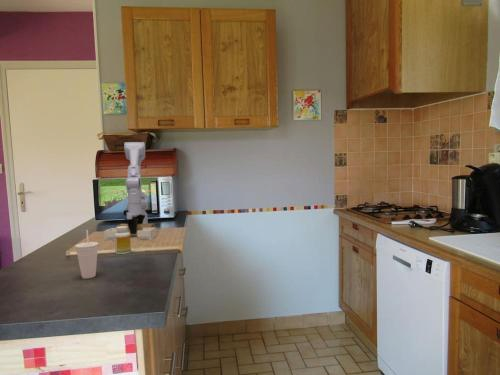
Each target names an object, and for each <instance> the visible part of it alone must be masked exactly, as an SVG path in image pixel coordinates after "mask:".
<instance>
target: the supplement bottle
mask: <svg viewBox="0 0 500 375" xmlns="http://www.w3.org/2000/svg"><path fill="white" fill-rule="evenodd" d="M115 228H116V231H117V233H116V234H115V240H114V249H115V254H116V255H126V254H129V253H131V252H132V250H131V245H132V244H131V236H130V233H129V232H127V230H128V227H127V226H119V227H117V226H116V227H115Z"/></svg>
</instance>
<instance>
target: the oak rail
mask: <svg viewBox="0 0 500 375" xmlns="http://www.w3.org/2000/svg"><path fill="white" fill-rule="evenodd" d="M119 226H127V227H128V230H127V232H129V233H130V229H129V226H128V224H127V223H119V224H117V225H116V227H119ZM143 228H155V223H148V224H137V228H136V234H131V233H130V237H138V236H137V231H138V230H143Z"/></svg>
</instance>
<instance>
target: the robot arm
mask: <svg viewBox="0 0 500 375" xmlns="http://www.w3.org/2000/svg"><path fill="white" fill-rule="evenodd" d="M123 145H124V146H123V148H124V154H125V157H126V160H129V165H128V166H127V174H126V175H127V178H126V179H125V187H126V194H127V196H126V210H127V211H128V212H127V211H126V212H125V214H126V218H125V219H124V220H125V223H126V224H128V226H129V229H130V233H131V234H136V228H137V224H149V222H148V221H149V220H148V213H147V212H146V211H147V210H148V206H149V204H148V196H147V194H146V193H144V192H142V177H141V175H142V174H141V173H142V172H141V164H142V161H144V160H145V159H146V143H145V141H142V142H141V141H140V142H139V141H129V142H128V141H125V142H124V144H123Z"/></svg>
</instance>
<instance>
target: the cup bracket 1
mask: <svg viewBox="0 0 500 375" xmlns="http://www.w3.org/2000/svg"><path fill="white" fill-rule="evenodd" d="M116 233H117V231H116V227H111V228H108V229H106V230H104V231H103V237H104V238H103V239H104V241H115V234H116Z"/></svg>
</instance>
